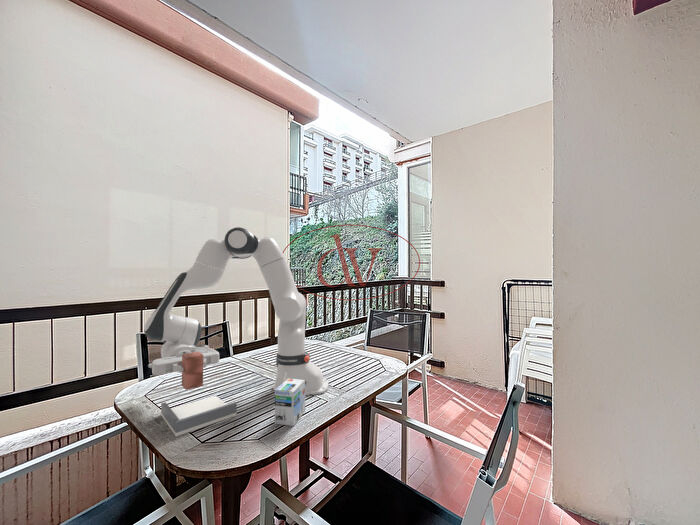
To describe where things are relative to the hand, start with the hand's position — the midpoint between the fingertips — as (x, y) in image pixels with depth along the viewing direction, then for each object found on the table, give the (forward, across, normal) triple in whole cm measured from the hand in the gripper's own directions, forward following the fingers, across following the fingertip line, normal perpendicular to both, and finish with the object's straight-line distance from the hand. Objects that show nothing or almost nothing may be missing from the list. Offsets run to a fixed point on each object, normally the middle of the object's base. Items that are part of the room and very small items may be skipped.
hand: (193, 367), depth 96 cm
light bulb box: (+19, +24, +17) cm, 36 cm away
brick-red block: (-1, 0, +6) cm, 6 cm away
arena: (-3, +2, +17) cm, 17 cm away
